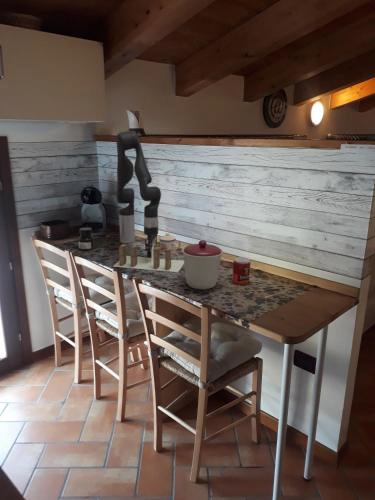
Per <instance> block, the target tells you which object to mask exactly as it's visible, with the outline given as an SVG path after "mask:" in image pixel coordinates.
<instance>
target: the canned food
mask: <svg viewBox="0 0 375 500" xmlns="http://www.w3.org/2000/svg"><path fill="white" fill-rule="evenodd" d="M232 264H233V265H232V282H233V283H234V284H235V285H240V286H245V285H248V284H249V283H250V273H251V259H250V258H249V257H244V256H238V257H234V258H233V263H232Z"/></svg>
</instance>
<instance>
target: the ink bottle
mask: <svg viewBox="0 0 375 500" xmlns="http://www.w3.org/2000/svg"><path fill="white" fill-rule="evenodd" d="M92 229H93V228H92V227H80V228H79V237H78V239H77V240H78V249H79V250H81V251H83V252H84V251H85V252H86V251H91V250H92V251H93V250H94V249H95V237H94V236H93V230H92Z"/></svg>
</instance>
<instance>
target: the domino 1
mask: <svg viewBox="0 0 375 500" xmlns="http://www.w3.org/2000/svg"><path fill="white" fill-rule="evenodd" d="M118 254H119V256H118V258H119V259H118V262H119V264H120V266H124V265H125V264H126V256H127V244H125V243H122V244H121V245H120V246H119V247H118Z"/></svg>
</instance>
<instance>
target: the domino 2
mask: <svg viewBox="0 0 375 500" xmlns="http://www.w3.org/2000/svg"><path fill="white" fill-rule="evenodd" d="M129 256H131V267H135V266H136V265H137V257H138V245H134V244H133V245H132V246H131V247H130V255H129Z"/></svg>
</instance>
